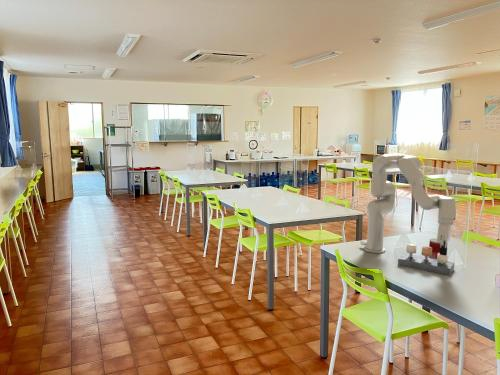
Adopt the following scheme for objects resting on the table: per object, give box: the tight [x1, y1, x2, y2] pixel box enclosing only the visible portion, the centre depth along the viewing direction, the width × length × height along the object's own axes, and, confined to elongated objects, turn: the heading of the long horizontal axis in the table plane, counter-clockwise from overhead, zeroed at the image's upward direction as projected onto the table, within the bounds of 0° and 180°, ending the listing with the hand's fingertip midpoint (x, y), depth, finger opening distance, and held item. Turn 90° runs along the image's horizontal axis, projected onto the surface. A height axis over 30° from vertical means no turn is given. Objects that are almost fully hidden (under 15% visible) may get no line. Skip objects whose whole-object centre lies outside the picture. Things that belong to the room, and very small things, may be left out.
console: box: [397, 252, 455, 277], centre depth 224 cm, size 26×12×4 cm, turn 54°
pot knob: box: [421, 245, 432, 261], centre depth 223 cm, size 5×5×8 cm
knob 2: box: [437, 253, 449, 264], centre depth 218 cm, size 5×5×8 cm
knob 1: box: [406, 243, 418, 258], centre depth 227 cm, size 5×5×8 cm
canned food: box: [428, 238, 441, 259], centre depth 238 cm, size 8×8×11 cm
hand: (443, 254), depth 218 cm, fingers closed
